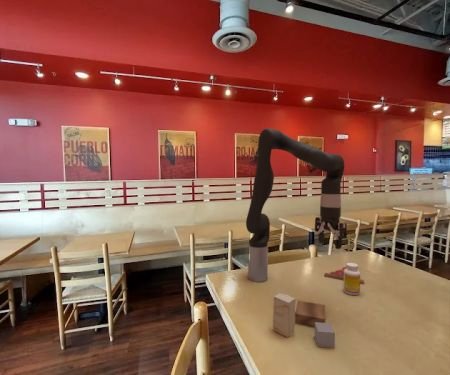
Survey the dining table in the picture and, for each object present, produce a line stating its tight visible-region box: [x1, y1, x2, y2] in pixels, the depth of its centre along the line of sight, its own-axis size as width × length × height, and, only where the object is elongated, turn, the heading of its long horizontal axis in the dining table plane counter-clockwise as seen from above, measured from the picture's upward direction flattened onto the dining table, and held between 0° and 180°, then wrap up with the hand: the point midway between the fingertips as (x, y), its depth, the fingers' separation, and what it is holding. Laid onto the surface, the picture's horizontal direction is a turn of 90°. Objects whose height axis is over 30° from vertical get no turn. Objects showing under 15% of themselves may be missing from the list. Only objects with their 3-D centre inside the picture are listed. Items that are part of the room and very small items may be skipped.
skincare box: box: [272, 292, 296, 338], centre depth 88 cm, size 6×4×12 cm
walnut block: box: [294, 300, 326, 328], centre depth 96 cm, size 10×10×4 cm
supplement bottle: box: [343, 262, 361, 296], centre depth 115 cm, size 7×7×13 cm
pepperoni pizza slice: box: [323, 266, 365, 285], centre depth 137 cm, size 18×2×20 cm
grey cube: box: [314, 322, 336, 348], centre depth 83 cm, size 5×5×5 cm
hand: (329, 245), depth 102 cm, fingers open, 8 cm apart
